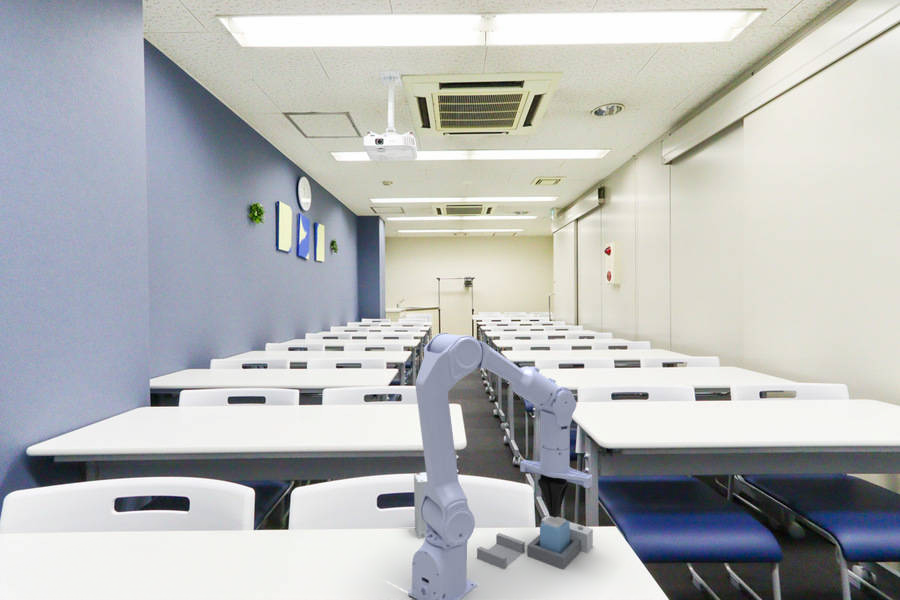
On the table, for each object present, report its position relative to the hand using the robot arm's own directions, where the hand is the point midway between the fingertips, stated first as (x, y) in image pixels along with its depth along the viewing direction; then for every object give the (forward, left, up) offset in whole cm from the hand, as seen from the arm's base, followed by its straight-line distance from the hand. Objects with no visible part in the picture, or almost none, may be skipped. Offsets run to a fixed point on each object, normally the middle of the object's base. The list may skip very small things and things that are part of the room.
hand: (554, 515), depth 91 cm
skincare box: (-9, +26, -8) cm, 29 cm away
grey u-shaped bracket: (-7, +8, -8) cm, 13 cm away
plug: (0, 0, -8) cm, 8 cm away
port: (+1, 0, -8) cm, 8 cm away
